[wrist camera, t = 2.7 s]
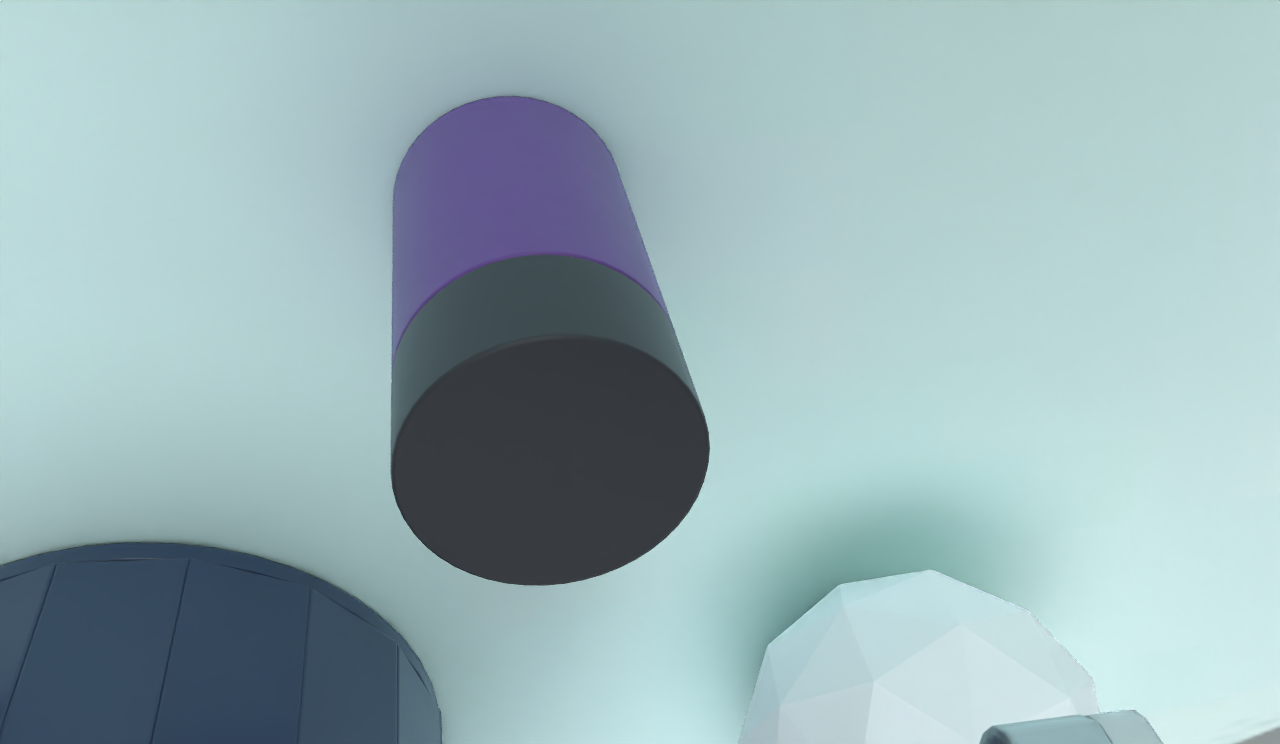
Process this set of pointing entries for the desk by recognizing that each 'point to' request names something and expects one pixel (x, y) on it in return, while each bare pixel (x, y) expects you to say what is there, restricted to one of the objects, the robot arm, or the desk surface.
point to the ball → (911, 668)
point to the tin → (198, 654)
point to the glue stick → (532, 354)
